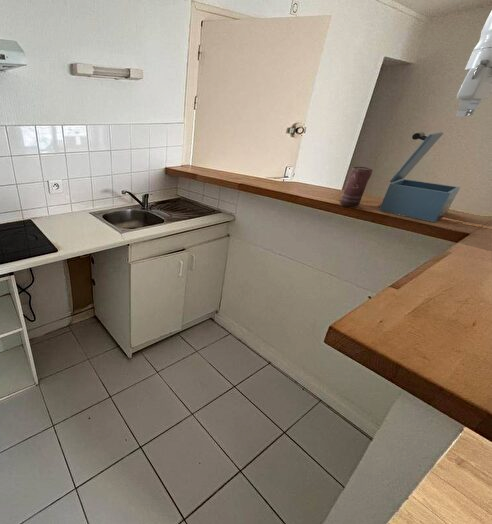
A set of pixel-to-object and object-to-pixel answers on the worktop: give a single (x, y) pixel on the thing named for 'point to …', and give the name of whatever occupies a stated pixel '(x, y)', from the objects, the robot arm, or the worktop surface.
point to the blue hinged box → (418, 199)
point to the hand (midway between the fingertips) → (463, 116)
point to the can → (355, 186)
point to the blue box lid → (417, 154)
